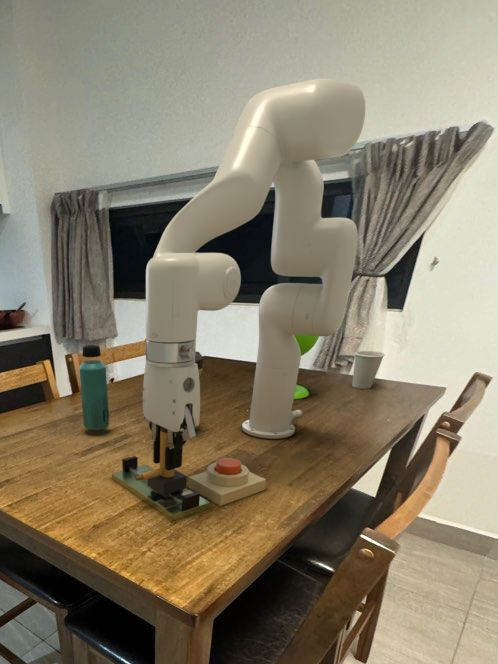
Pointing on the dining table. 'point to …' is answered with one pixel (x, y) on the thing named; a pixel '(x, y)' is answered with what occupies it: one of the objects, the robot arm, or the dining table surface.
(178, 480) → the nozzle
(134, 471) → the rail
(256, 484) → the button box
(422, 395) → the dining table surface
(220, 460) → the button
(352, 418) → the dining table surface
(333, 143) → the robot arm
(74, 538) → the dining table surface
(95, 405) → the beverage bottle
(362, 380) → the dixie cup
